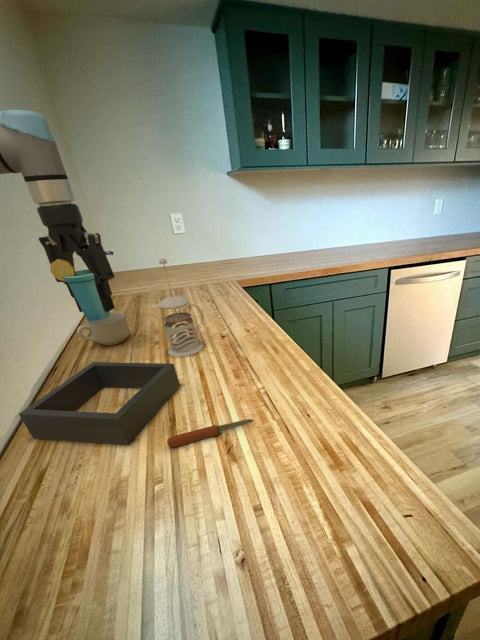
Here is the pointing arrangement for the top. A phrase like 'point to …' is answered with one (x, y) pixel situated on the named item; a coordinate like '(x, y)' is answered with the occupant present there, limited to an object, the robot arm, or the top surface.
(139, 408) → the frame
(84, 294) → the cup
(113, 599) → the top surface
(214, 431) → the kitchen knife
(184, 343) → the french press
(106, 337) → the teacup
